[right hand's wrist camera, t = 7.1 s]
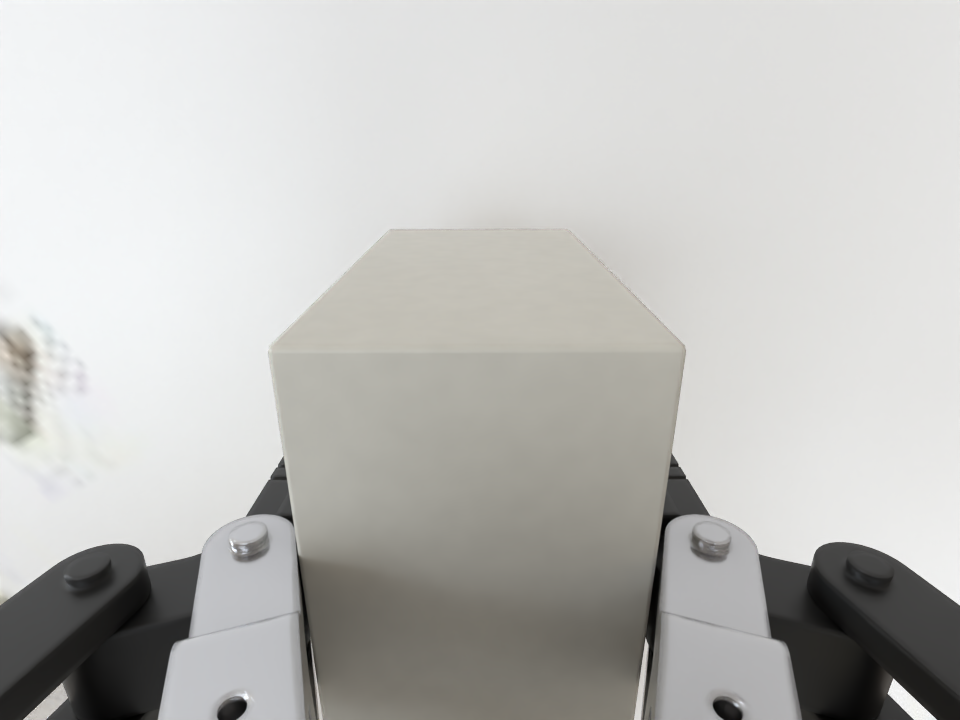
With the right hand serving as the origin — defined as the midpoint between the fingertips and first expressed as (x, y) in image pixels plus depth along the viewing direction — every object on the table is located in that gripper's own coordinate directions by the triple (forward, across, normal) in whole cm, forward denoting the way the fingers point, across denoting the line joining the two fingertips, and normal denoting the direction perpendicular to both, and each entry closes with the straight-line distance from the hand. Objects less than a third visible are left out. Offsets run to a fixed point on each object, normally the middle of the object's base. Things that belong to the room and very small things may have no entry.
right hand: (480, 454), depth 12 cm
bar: (+5, 0, -7) cm, 9 cm away
